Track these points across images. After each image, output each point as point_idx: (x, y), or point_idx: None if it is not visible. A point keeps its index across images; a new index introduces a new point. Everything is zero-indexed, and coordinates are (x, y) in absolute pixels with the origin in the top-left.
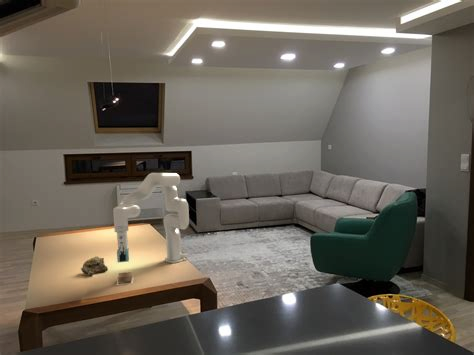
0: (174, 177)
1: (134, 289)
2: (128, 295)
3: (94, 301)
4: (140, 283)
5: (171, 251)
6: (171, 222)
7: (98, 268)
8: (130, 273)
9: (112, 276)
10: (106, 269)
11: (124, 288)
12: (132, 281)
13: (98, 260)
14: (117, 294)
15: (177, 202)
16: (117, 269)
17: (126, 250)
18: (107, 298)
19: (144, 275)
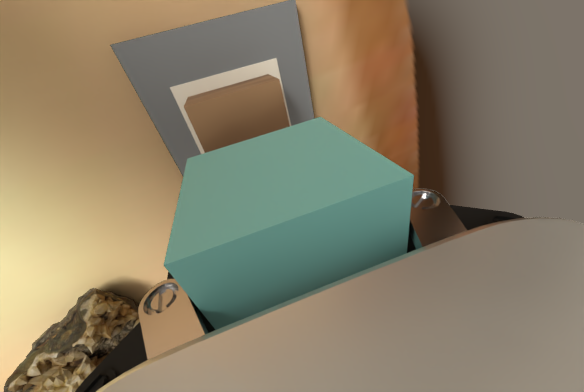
0: None
1: (338, 25)
2: (409, 41)
3: (417, 176)
4: (240, 4)
5: None
6: None
7: (120, 327)
8: (221, 101)
9: (144, 233)
10: (102, 295)
11: (315, 99)
12: (243, 72)
13: (83, 379)
14: (381, 109)
15: None
16: (11, 261)
17: (350, 227)
18: (408, 139)
19: (50, 9)
